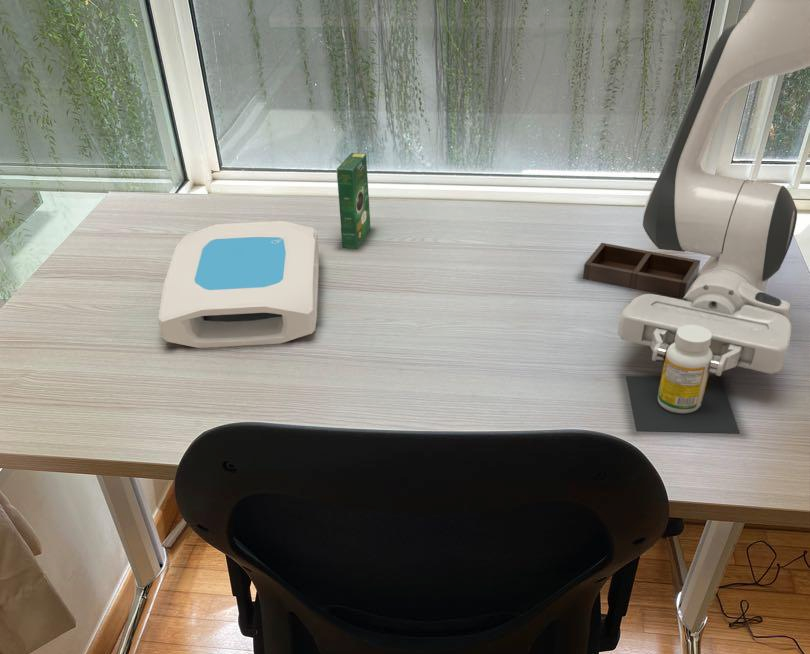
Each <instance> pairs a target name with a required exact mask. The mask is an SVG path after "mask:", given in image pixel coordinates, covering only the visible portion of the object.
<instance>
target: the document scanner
mask: <svg viewBox="0 0 810 654" xmlns="http://www.w3.org/2000/svg"><path fill="white" fill-rule="evenodd" d="M318 240H319V239H318V231H317V230H316V228H315V227H311V226H306V225H302V224H298V223H294V222H291V221H285V220H272V221H252V222H251V221H250V222H233V223H232V222H231V223H216V224H212V225H209V226H207V227H205V228H201V229H198V230H195V231H193V232H190V233H186V234H185V235H184V236H183V237H182V238H181V240H180V241H179V243H178V244H177V245H176V247H175V248H174V250H173V254H172V256H171V260H170V262H169V266H168V269H167V272H166V276H165V279H164V281H163V285H162V286H163V287H162V291H161V298H160V305H159V310H158V317H157V320H158V325H159V330H160V333H161V334H160V335H161V338H162V340H164V341H166V342H167V343H172V344H177V345H182V346H186V347H190V348H191V347H192V348H197V349H203V348H221V347H223V348H224V347H242V346H257V345H258V346H261V345H276V344H277V345H279V344H280V345H281V344H284V343H287V342H291V341H292V340H293V341H294V340H295V339H299V338H302V337H305V336H309V335H311V334H313V333H314V332H315V331H316V325H317V319H318V300H319V299H318V298H319V295H318V294H319V275H320V274H319V273H320V270H319V269H320V268H319V267H320V266H319V264H320V262H319V260H320V259H319V258H320V257H319V256H320V255H319V253H320V252H319V249H320V248H319V241H318ZM261 313H262V314H263V313H264V314H265V313H266V314H267V313H268V314H275V315H280V316H274V317H269V318H262V319H255V320H240V321H239V320H238V321H220V320H205V317H207V316H224V315H225V316H226V315H243V314H261Z"/></svg>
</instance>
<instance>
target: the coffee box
mask: <svg viewBox="0 0 810 654" xmlns="http://www.w3.org/2000/svg"><path fill="white" fill-rule="evenodd" d="M367 163H368V161H367V153H364V152H363V153H362V152H351V153H350V154H349V155H348V156H346V158H345V159H344V160H343V161H342V162H341V163H340V165H339V166H338V167H337V168H336V180H337V181H336V182H337V192H338V205H339V218H340V221H339V222H340V232H341V233H340V234H341V248H342V249H348V250H358V249H359V248H360V246H361V244H362V243H363V242H364V241H365V239H366V238H367V237H368V235H369V233H370V232H371V212H370V211H371V210H370V196H369V179H368V164H367Z"/></svg>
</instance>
